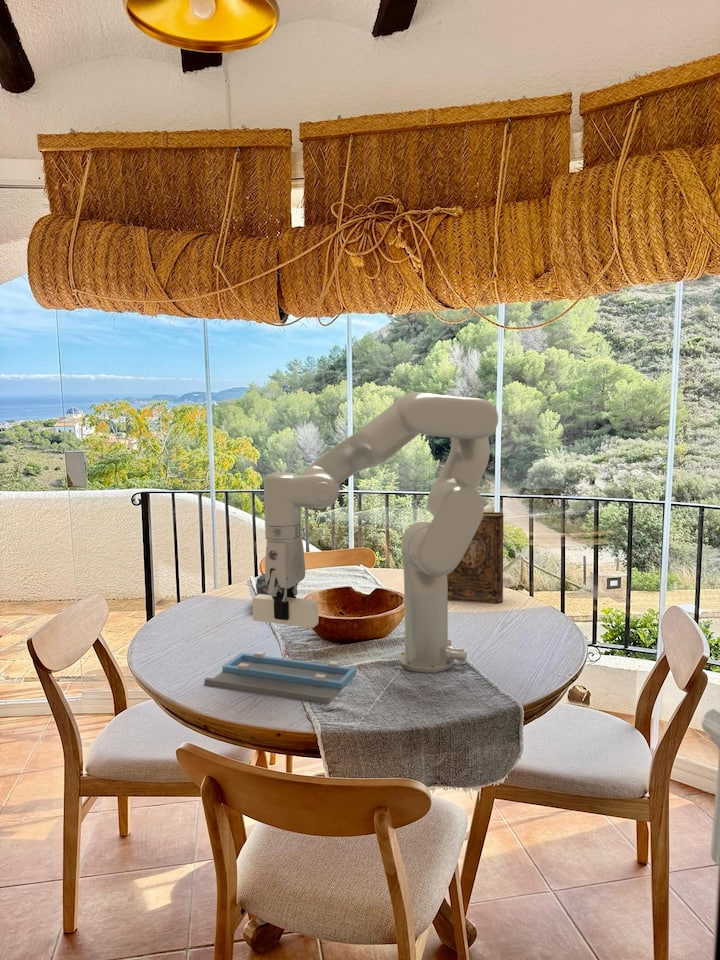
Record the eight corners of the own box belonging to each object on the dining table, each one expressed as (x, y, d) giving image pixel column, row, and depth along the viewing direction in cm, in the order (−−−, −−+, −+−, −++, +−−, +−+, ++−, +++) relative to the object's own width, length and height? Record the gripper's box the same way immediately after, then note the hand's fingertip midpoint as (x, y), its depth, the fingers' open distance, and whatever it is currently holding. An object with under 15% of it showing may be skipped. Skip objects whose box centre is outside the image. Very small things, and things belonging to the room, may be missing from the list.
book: (503, 598, 201) (504, 512, 198) (501, 604, 196) (502, 516, 193) (446, 594, 206) (446, 510, 202) (443, 600, 201) (443, 514, 197)
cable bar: (318, 623, 148) (318, 600, 148) (312, 628, 145) (312, 604, 145) (259, 616, 153) (259, 594, 152) (253, 620, 150) (252, 598, 150)
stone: (284, 614, 192) (283, 578, 191) (256, 615, 191) (254, 580, 190) (284, 600, 204) (283, 566, 203) (257, 601, 204) (256, 567, 202)
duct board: (356, 676, 150) (356, 664, 150) (328, 708, 136) (328, 694, 136) (242, 660, 160) (241, 649, 160) (204, 688, 146) (204, 675, 145)
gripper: (281, 541, 138) (283, 631, 140) (315, 525, 153) (317, 606, 155) (247, 538, 140) (250, 627, 143) (285, 523, 155) (287, 603, 158)
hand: (285, 615), depth 149 cm, fingers closed on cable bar, 3 cm apart
